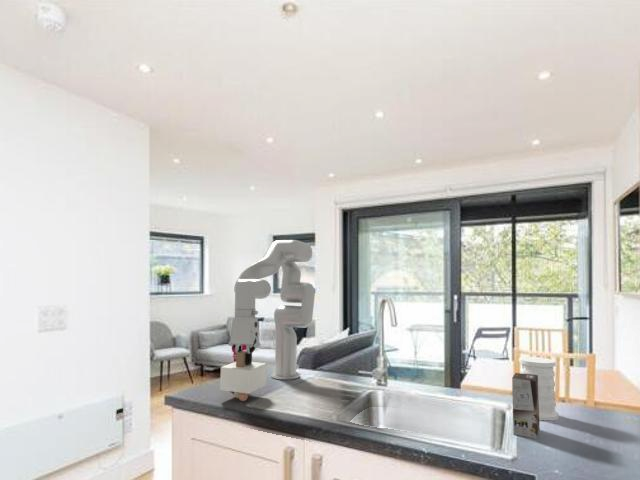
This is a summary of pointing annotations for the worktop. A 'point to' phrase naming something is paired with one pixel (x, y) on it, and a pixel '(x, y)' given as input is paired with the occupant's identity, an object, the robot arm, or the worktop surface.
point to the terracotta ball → (243, 396)
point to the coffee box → (525, 405)
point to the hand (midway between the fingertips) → (244, 363)
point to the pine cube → (236, 394)
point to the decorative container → (542, 384)
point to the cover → (243, 375)
